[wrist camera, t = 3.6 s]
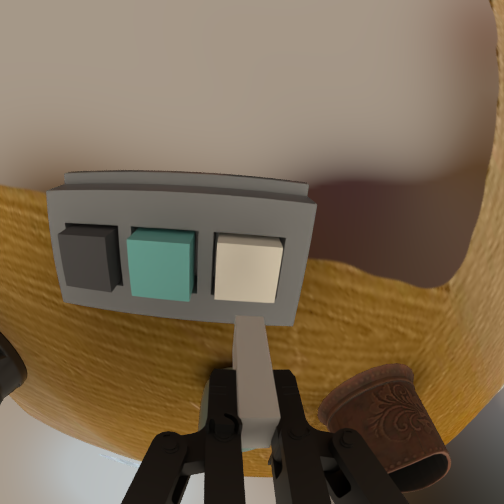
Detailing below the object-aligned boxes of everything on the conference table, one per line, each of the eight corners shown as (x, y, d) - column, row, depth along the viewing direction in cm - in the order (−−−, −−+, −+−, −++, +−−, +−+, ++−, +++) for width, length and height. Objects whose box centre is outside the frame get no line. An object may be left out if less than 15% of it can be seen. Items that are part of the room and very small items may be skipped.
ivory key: (216, 281, 25) (214, 299, 22) (219, 230, 23) (217, 242, 20) (270, 285, 26) (274, 303, 23) (277, 235, 24) (283, 247, 21)
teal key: (142, 278, 24) (131, 295, 21) (138, 227, 22) (126, 239, 19) (194, 283, 24) (189, 301, 22) (195, 231, 22) (189, 244, 20)
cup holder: (377, 425, 44) (412, 518, 21) (271, 427, 40) (287, 554, 17) (431, 363, 37) (494, 467, 14) (317, 356, 34) (372, 534, 11)
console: (83, 290, 28) (66, 310, 24) (70, 171, 23) (45, 179, 19) (284, 309, 30) (290, 334, 26) (305, 182, 25) (319, 191, 21)
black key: (80, 271, 23) (66, 285, 21) (74, 223, 21) (57, 234, 19) (123, 276, 24) (111, 292, 21) (118, 225, 22) (104, 237, 19)
